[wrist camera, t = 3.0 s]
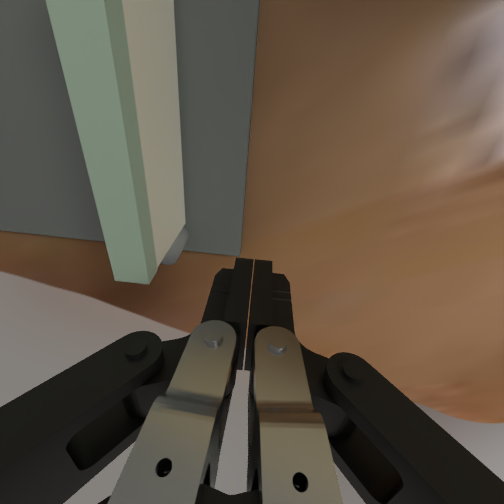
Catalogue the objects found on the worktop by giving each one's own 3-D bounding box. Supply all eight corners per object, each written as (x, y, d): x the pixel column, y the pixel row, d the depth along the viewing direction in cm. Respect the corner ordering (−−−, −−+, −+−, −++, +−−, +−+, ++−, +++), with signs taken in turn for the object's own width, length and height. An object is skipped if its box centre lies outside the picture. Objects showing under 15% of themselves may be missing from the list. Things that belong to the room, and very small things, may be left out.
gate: (132, -71, 12) (-13, -232, 6) (172, -67, 12) (67, -225, 6) (163, 220, 20) (114, 280, 14) (186, 223, 20) (149, 284, 14)
